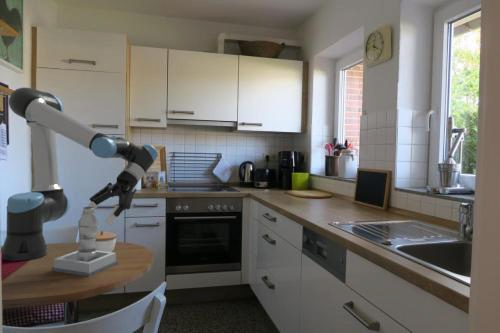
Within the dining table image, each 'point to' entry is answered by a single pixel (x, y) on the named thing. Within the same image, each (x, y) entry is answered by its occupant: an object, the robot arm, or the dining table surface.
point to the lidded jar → (105, 241)
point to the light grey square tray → (84, 263)
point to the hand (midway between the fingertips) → (95, 220)
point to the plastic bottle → (87, 235)
